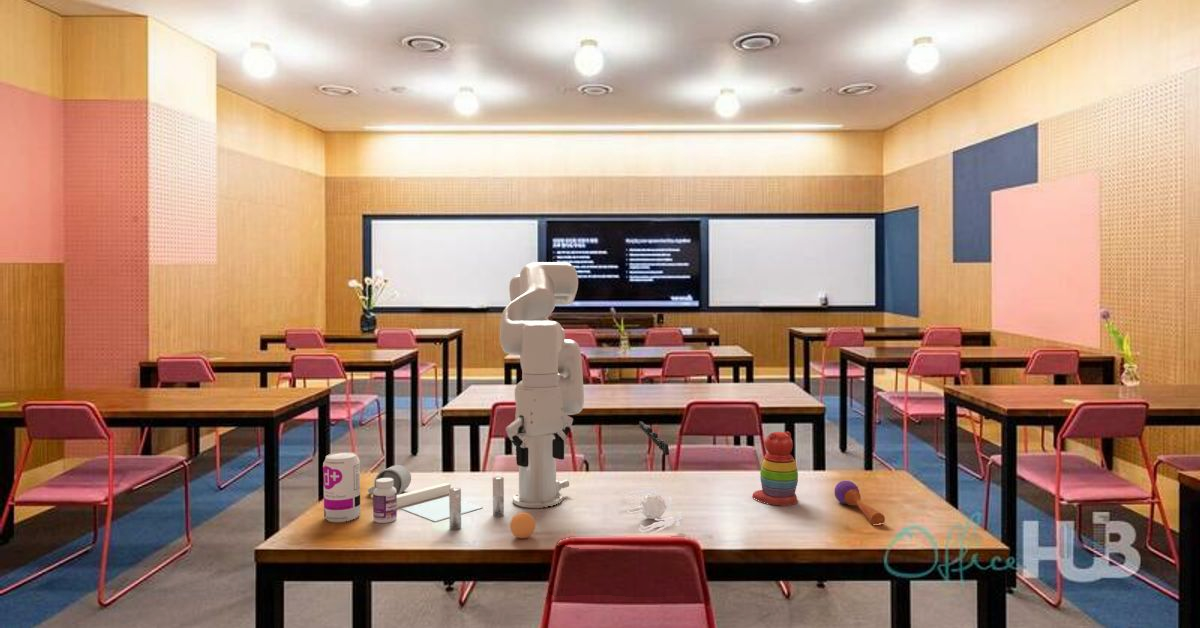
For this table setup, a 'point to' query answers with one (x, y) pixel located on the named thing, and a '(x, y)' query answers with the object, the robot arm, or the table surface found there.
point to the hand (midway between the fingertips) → (540, 462)
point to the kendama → (856, 501)
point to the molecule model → (653, 502)
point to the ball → (522, 525)
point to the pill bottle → (384, 501)
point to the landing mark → (438, 509)
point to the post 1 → (455, 508)
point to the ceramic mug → (395, 478)
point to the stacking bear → (778, 471)
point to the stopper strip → (423, 494)
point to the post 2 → (498, 496)
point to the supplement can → (341, 486)
